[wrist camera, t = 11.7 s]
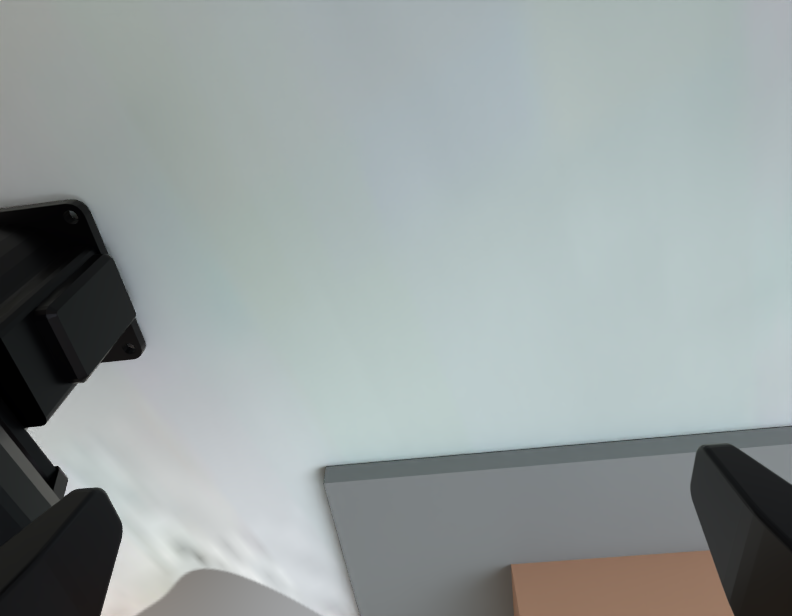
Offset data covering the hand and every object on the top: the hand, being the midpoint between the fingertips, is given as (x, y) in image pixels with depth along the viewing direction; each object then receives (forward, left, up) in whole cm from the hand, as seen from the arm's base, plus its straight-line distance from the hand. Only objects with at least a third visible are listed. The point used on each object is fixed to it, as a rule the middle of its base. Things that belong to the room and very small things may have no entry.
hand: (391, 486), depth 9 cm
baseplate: (+6, -21, -13) cm, 26 cm away
